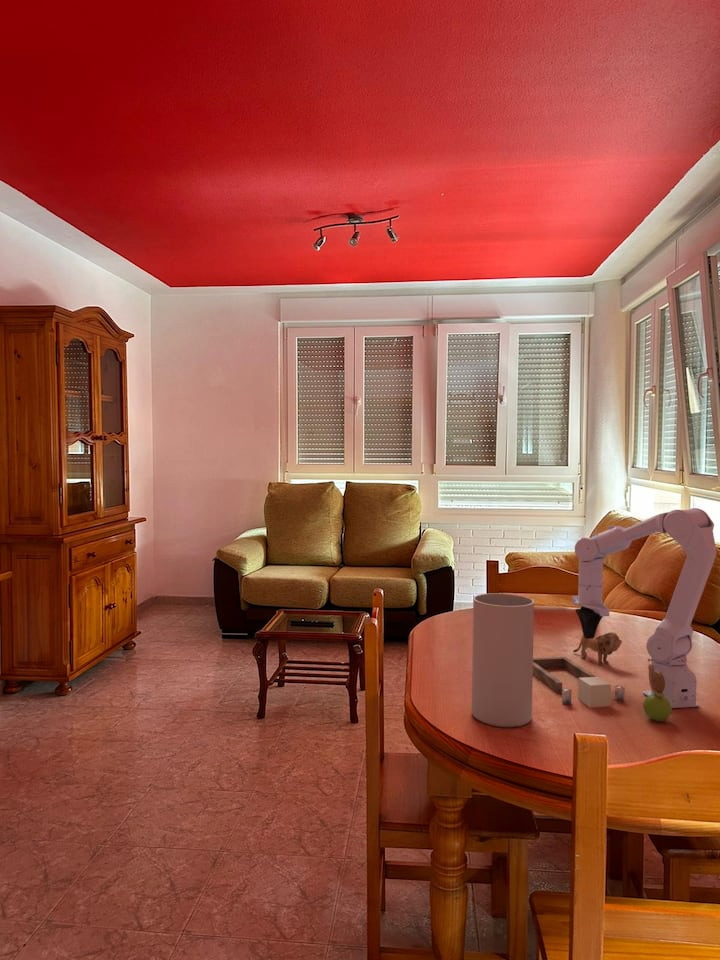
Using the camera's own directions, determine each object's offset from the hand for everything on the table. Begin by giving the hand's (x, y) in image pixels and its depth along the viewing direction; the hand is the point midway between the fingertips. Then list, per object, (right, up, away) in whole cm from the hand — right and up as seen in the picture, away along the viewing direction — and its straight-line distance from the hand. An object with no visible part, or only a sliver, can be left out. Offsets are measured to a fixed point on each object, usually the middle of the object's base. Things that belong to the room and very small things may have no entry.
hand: (588, 637), depth 162 cm
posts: (-5, -10, -18) cm, 21 cm away
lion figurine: (+7, -9, +12) cm, 17 cm away
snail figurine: (+4, -11, -27) cm, 30 cm away
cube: (-5, -10, -18) cm, 22 cm away
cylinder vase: (-28, -10, -27) cm, 40 cm away
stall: (-8, -10, -4) cm, 13 cm away
